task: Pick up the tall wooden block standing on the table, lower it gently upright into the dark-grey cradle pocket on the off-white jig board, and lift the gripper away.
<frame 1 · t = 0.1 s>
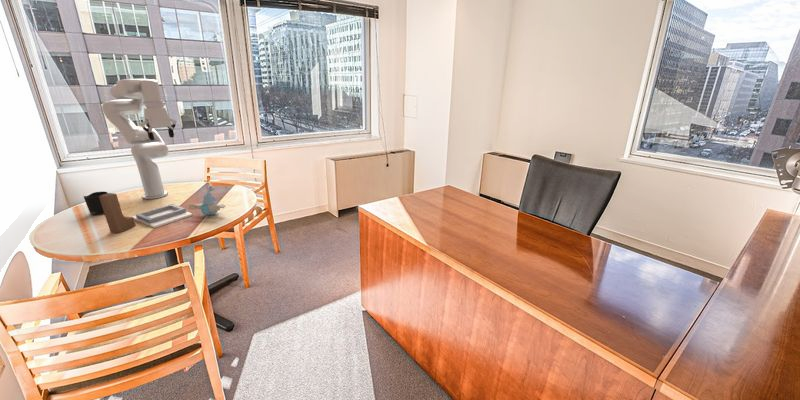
hand: (162, 138, 176), 37 cm above the table, tool pointing down, fingers open, 9 cm apart
toy figure: (211, 214, 174), on the table
jig: (162, 216, 170), on the table
wooden block: (123, 229, 156), on the table
pen holder: (101, 212, 175), on the table
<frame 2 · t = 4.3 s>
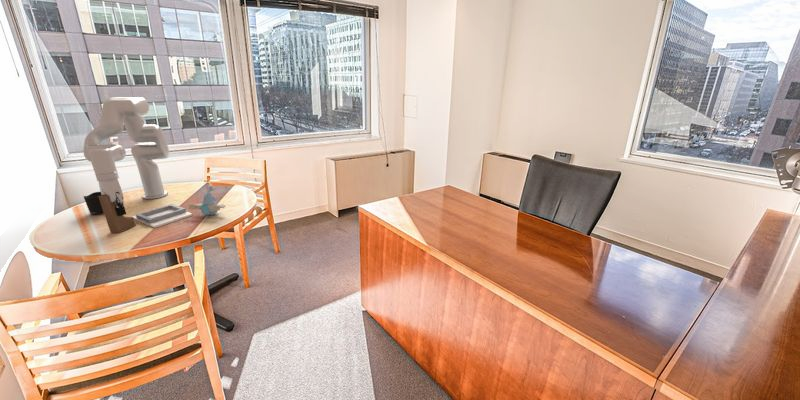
hand: (118, 213, 154), 8 cm above the table, tool pointing down, fingers open, 5 cm apart
wooden block: (123, 229, 156), on the table, touching gripper
everything else where it was.
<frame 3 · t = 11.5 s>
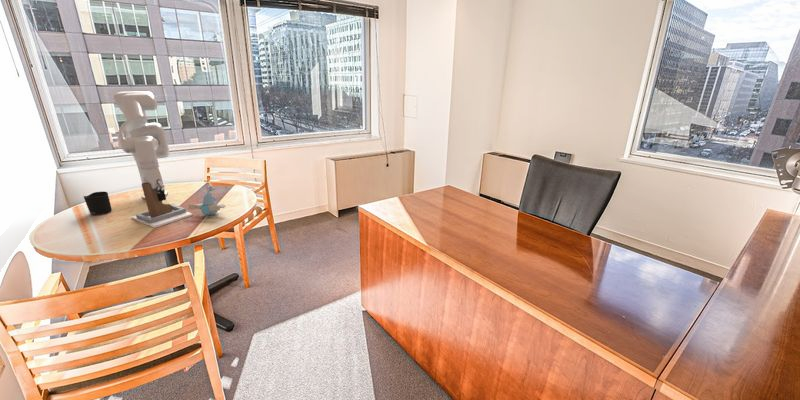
hand: (157, 198, 167), 10 cm above the table, tool pointing down, fingers open, 8 cm apart
wooden block: (161, 215, 170), point 1 cm above the table, touching jig
everything else where it was.
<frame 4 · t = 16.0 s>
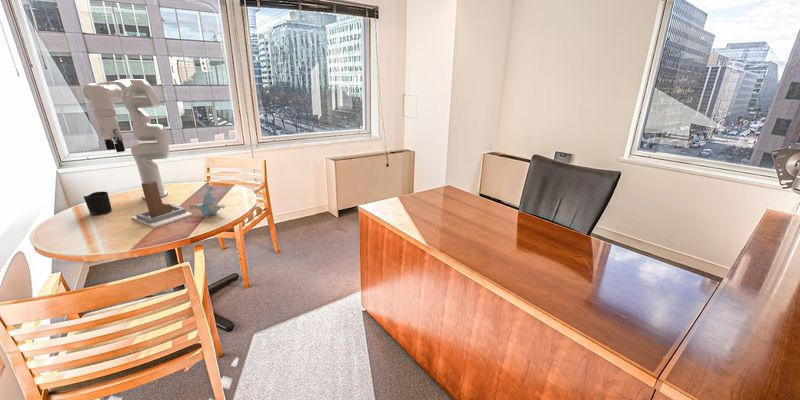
hand: (116, 150, 158), 34 cm above the table, tool pointing down, fingers open, 9 cm apart
nothing on the table moved.
at the end: wooden block 0.6 cm off-centre on the jig, point 0.8 cm above the jig's base; wooden block tilted 0°; the gripper is holding nothing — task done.
